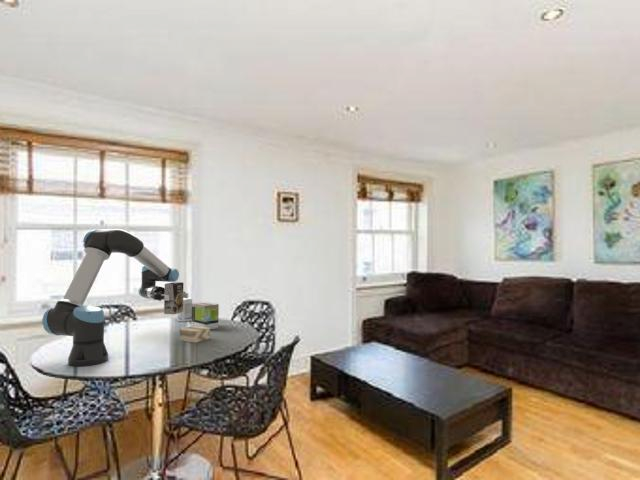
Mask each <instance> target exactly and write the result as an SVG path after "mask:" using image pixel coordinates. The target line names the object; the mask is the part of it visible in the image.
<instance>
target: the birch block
mask: <svg viewBox="0 0 640 480" xmlns="http://www.w3.org/2000/svg"><path fill="white" fill-rule="evenodd" d="M209 339H211V329H210V328H208V327H202V326H192V325H191V326H188V327H184V328H180V329H179V341H184V342H188V343H194V344H196V343H198V342H202V341H206V340H209Z"/></svg>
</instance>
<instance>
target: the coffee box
mask: <svg viewBox="0 0 640 480" xmlns="http://www.w3.org/2000/svg"><path fill="white" fill-rule="evenodd" d="M164 288H165V291H164V295H169V301H167V300H163V314H164V315H177V314H178V313H181V312H183V292H184V282H177V281H175V282H168V283H167V282H166V283H164Z"/></svg>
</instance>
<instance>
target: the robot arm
mask: <svg viewBox="0 0 640 480" xmlns="http://www.w3.org/2000/svg"><path fill="white" fill-rule="evenodd" d="M82 243H83V248H84V249H83V251H84V254H85V255H84V257H83V259H82V261H81V262H80V264H79V266H78V269H77V270H76V272H75V274H74V276H73V278H72V281H71V282H70V284H69V286H68V289H67V291H66V292H65V294H64V295H63V298H62V299H60V300H58V301H57V302H55V303H56V304H55V305H54V307H51V308H49V309H47V310H46V311H45V312H44V314H43V315H42V320H41V321H42V322H41V323H42V327H43V330H44V331H45V332H46V333H48V334H51V335H55V336H68V337H72V340H73V341H72V347H71V350H70V353H69V356H68V359H67V361H68V362H67V364H68V365H69V366H72V367H88V366H94V365H95V366H96V365H99V364H102V363H104V362H107V361H108V360H109V353H108V350H107V348H106V344H105V341H104V340H105V312H104V310H103V308H101V307H98V306H92V305H89V306H88V305H84V304H85V302H86V299H87V297H88V295H89V293H90V291H91V289H92V287H93V285H94V283H95V281H96V279H97V276H98V275H99V272H100V270H101V268H102V266H103V264H104V261H107V260H109V259H110V257H111V255H112V253H119V254H124V255H126V256H127V257H129V258H133V259H135V260H136V261H137V262H139V263H140V264H141V285H140V286H139V288H138V289H137V290H138V292H137V293H138V295H139V296H140V297H142V298H145V299H151V300H153V301H159V302H160V301H162V300H163V301H164V300H167V301H169V295H164V291H165V287H162V286H158V285H156V282H166V283H167V282H168V283H173V282H174V283H176V282H177V281H178V279H179V278H180V272H179V270H178V269H177V268H170V267H169V266H168V265H167V264H166V263H165V262H163V261H162V260H161V259H160V258H159V257H157V256H156V255H155V254H154V253H153V252H151V251H150V250H149V249H148V248H147V247H145V246H144V242H143V241H142V240H141V239H139V237H137V236H135V235H133V234H132V233H131V232H129V231H126V230H124V229H120V228H113V229H112V228H107V229H106V228H105V229H104V228H97V229H96V228H94V229H91V230H89V231H88V232H87V233H86V234H85V235H84V236H83V239H82ZM188 297H189V293H188V292H186V291H183V298H188Z"/></svg>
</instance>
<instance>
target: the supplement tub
mask: <svg viewBox="0 0 640 480" xmlns="http://www.w3.org/2000/svg"><path fill="white" fill-rule="evenodd" d="M192 303H193V299H192V297H189V296H188V298H183V312H181V313H178V314H176V319H177V321H178V322H180V323H182V322H184V323H185V322H192Z"/></svg>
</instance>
